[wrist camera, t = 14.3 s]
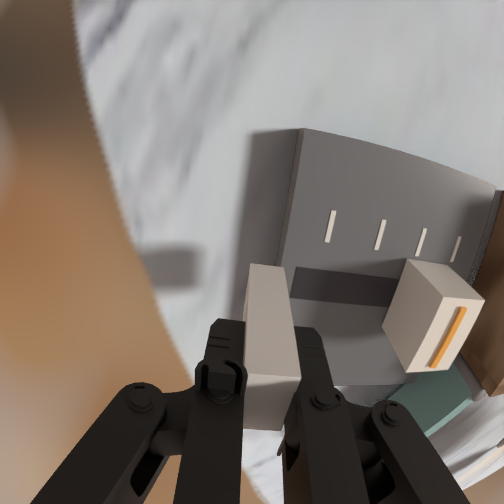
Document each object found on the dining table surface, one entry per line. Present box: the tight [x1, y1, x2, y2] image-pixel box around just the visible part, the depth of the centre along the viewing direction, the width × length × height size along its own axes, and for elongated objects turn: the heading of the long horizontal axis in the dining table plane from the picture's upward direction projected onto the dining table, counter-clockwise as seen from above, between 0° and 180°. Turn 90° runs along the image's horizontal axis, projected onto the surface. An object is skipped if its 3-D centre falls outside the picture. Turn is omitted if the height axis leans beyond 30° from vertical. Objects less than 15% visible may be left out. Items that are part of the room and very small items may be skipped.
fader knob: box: [382, 259, 485, 373], centre depth 13 cm, size 4×3×4 cm
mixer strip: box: [275, 128, 496, 386], centre depth 16 cm, size 15×12×2 cm
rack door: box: [387, 352, 487, 437], centre depth 18 cm, size 2×12×6 cm, turn 145°
